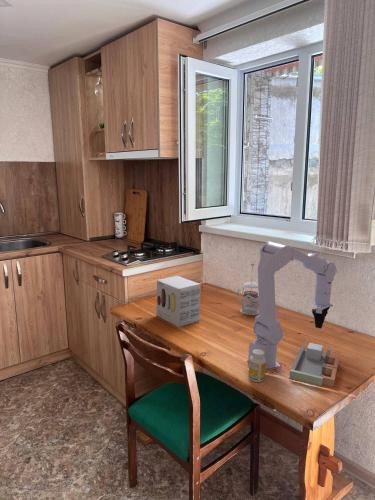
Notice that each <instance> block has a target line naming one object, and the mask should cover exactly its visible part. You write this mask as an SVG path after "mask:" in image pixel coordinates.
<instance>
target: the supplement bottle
mask: <svg viewBox="0 0 375 500" xmlns="http://www.w3.org/2000/svg"><path fill="white" fill-rule="evenodd" d="M264 356H265V352H264V351H263V350H260V349H254V350H253V351H252V356H251V357H250V363H249V362H248V363H249V366H248V378H249V380H250V381H251V382H255V383H260V382H264V381H265V377H266V369H267V368H266V359H265V357H264ZM265 368H266V369H265Z"/></svg>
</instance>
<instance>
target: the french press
mask: <svg viewBox="0 0 375 500" xmlns="http://www.w3.org/2000/svg"><path fill="white" fill-rule="evenodd" d="M250 266H251V271H253V268H254V266H255V263H254V262H251V263H250ZM245 288H248V289H259V288H258V282H255V281H253V279H251V281H248V282H244V283H243V286H242V287H240V288H239V289H238V290H237V293H236V297H237V300H238V301H240V302H241V309H240V310H239V312H240V313H241V314H244V315H248V316H249V315H250V316H255V315H260V311H259V292H257V291H254V290H245ZM241 290H243V295H242V300H241V299H240V298H239V292H240V291H241Z"/></svg>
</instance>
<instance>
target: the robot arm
mask: <svg viewBox="0 0 375 500" xmlns="http://www.w3.org/2000/svg"><path fill="white" fill-rule="evenodd" d="M259 253H260V254H259V255H260V258H259V262H258V266H257V283H258V288H257V289H258V296H259V299H258V310H259V311H260V313H259V314H257V316H255V317H254V324H253V328H252V330H253V333H254V334H255V338H256V339H255V340H254V341H251V342H250V343H249V345H248V346H249V347H248V358H247V359H246V360H247V362H248V363H250V357H251V356H252V351H253V350H254V349H260V350H263V351H264V352H265V356H264V357H265V359H266V368H265V370H266V369H270V368H277V367H281V366H282V365H280V364H279V363H278V362H277V352H278V345H279V344H280V342H281V340H282V339H283V337H284V333H283V330H282V327H281V326H282V325H281V322H280V321H279V319H278V316H277V315H276V314H277V313H276V287H275V286H276V285H275V284H276V283H275V274H276V273H277V272H278V271H280V270H281V269H283V268H284V267H285V266H287V265H288V264H289V263H290V262H293V261H294V260H296V261H297V262H299V263H301V264H302V266H303V267H304V268H305V269H307V270H310V271H311V272H313V273H314V274H316V276H315V284H314V285H315V286H314V298H313V305H314V307H315V308H312V310H311V313H312V315H313V319H314V326H315V328H316V329H320V330H321V329H322V328H323V326H324V322H325V319H326V317H327V315H328V314H329V313H328V311H329V309H331V308H332V307H334V304H333V303H331V296H332V295H331V294H332V286H333V281H334V279H335V276H336V274H337V273H338V269H337V267H336V265H335V263H334V262H332V261H328V260H327V259H326V258H325V257H320V256H319V254H317V253H315V252H313V253H308V254H306V253H304V252H303V251H301V250H299V249H298V248H295V247H293V246H290V245H285V244H281V243H275V242H274V241H266V243H264V245H262V247H261V248H260V249H259Z"/></svg>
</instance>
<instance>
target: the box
mask: <svg viewBox="0 0 375 500" xmlns="http://www.w3.org/2000/svg"><path fill="white" fill-rule="evenodd" d="M306 356H307V350H306V344H301V346H300V349H299V351H298V353H297V355H296V357H295V359H294V361H293V364H292V365H291V368H290V369H289V380H292V381H296V382H300V383H304V384H308V385H312V386H315V387H319V388H323V385H324V386H328V387H332V388H334V386H335V381H336V378H337V377H336V376H337V373H338V368H339V361H340V357H339V356H335V355H331V349H326V352H325V354H323V353H322V358H321V361H318V360H314V359H309V358H306ZM322 374H323V375H322Z"/></svg>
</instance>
